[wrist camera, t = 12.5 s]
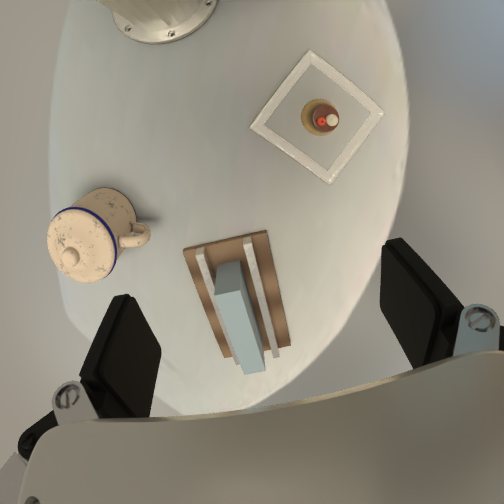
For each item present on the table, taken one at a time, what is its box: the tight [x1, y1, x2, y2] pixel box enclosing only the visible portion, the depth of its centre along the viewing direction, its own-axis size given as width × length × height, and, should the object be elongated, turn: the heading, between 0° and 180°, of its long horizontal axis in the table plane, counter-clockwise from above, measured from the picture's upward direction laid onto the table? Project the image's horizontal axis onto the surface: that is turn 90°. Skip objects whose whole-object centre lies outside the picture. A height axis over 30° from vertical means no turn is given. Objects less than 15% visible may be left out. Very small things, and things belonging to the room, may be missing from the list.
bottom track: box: [183, 230, 291, 365], centre depth 43 cm, size 20×11×3 cm, turn 13°
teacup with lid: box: [47, 188, 151, 283], centre depth 32 cm, size 12×9×12 cm
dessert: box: [249, 50, 385, 185], centre depth 31 cm, size 12×12×5 cm
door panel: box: [214, 260, 265, 375], centre depth 40 cm, size 14×3×7 cm, turn 13°
